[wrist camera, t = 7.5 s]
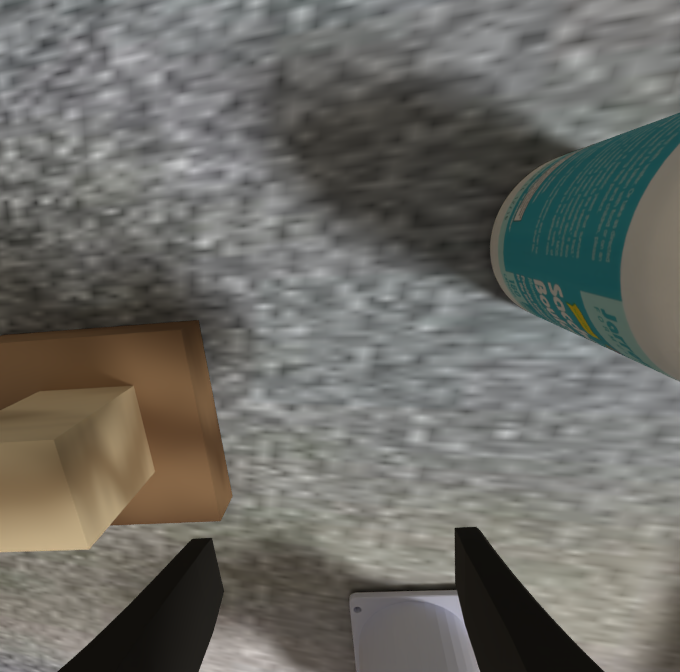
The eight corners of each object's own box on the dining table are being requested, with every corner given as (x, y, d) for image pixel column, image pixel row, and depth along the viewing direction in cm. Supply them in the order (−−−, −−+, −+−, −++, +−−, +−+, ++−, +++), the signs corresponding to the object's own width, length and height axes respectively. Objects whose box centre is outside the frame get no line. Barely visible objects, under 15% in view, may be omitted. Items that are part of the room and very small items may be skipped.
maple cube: (155, 471, 20) (89, 549, 15) (66, 475, 20) (-26, 552, 15) (133, 385, 18) (53, 439, 13) (39, 391, 19) (-72, 446, 14)
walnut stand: (232, 496, 22) (220, 521, 20) (61, 503, 23) (34, 528, 21) (198, 320, 19) (180, 329, 17) (3, 335, 20) (-35, 345, 18)
